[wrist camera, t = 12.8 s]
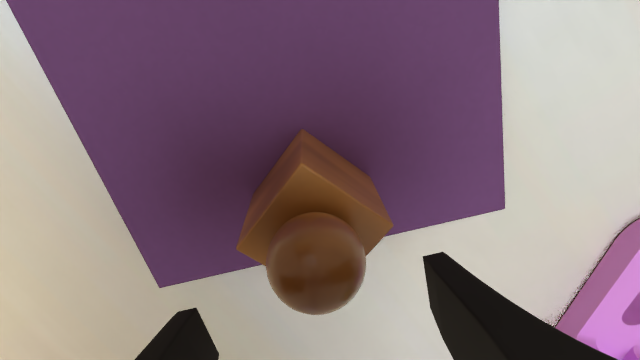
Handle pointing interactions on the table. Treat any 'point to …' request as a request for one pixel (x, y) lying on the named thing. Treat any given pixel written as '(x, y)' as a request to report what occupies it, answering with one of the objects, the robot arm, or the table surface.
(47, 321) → the table surface
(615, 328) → the bracket
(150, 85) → the felt cloth
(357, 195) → the wooden knob on block
